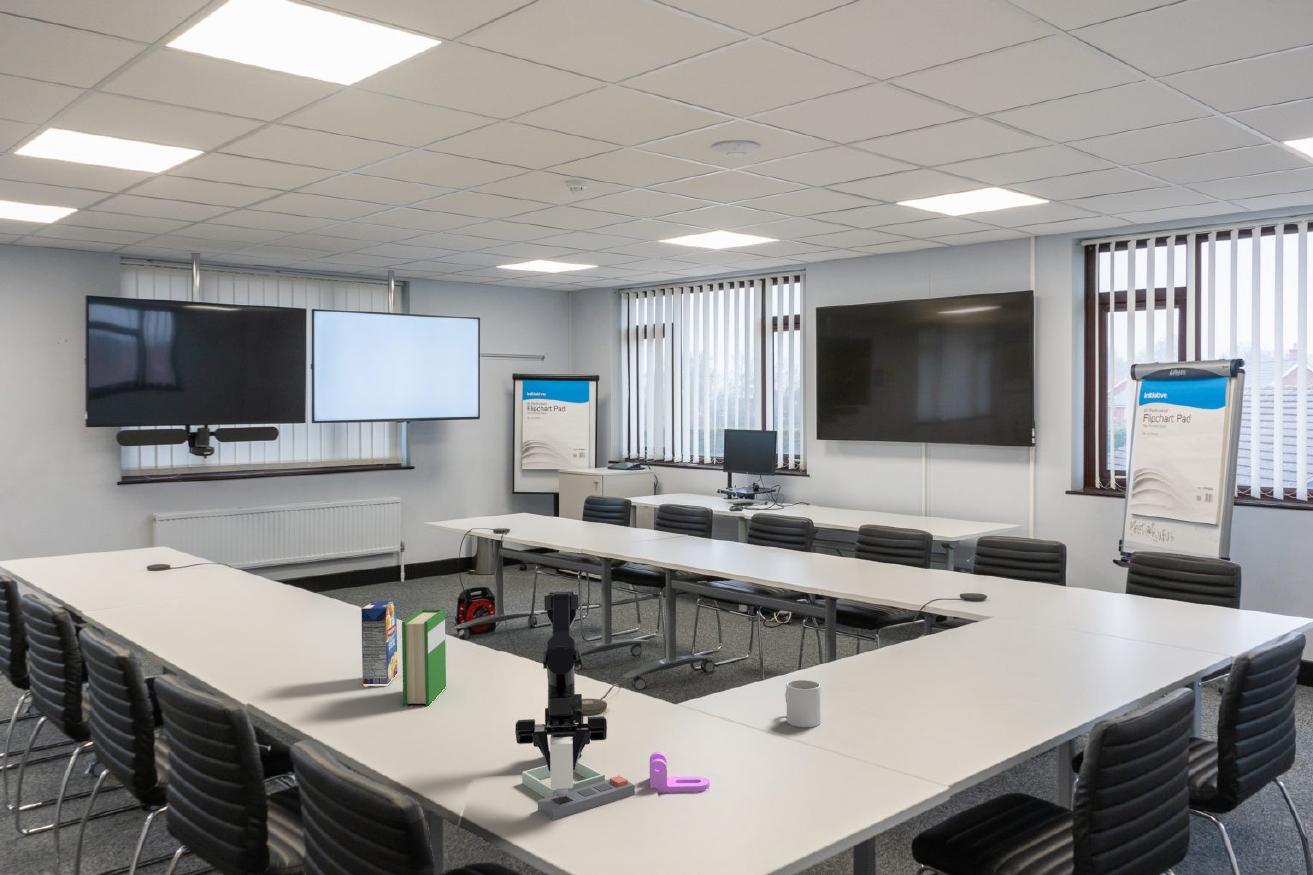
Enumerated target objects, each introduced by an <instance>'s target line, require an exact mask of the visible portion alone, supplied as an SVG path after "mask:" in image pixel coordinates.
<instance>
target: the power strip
mask: <svg viewBox="0 0 1313 875" xmlns="http://www.w3.org/2000/svg"><path fill="white" fill-rule="evenodd" d="M635 790H636V788H635V784H634V783H631V782H630V781H629V780H628V779H626V778H624V777H622V776H621V775H617V776H613V777H610V778H608V779H605V781H602V782H598V783H595V784H592V785H588V786H585V787H581V788H578V789H575V790H571V791H568V795H567V796H565V797H558V796H557V795H554V796H551V797H548V798H545V797H543V798H541V799H538V800H537V811H538V812H540V814H542V815H544V816H545V817H547V818H549V819H550V820H552V821H556V820H558V819H562V818H565V817H568V816H572V815H574V814H578V813H581V812H584V811H587V810H591V809H593V808H597V807H600V806H604V805H607V804H610V803H612V802H616V801H619V800H621V799H625V798H629V797H631V796H634V795H636V794H635V792H636V791H635Z"/></svg>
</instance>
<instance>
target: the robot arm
mask: <svg viewBox="0 0 1313 875" xmlns="http://www.w3.org/2000/svg"><path fill="white" fill-rule="evenodd" d="M543 596H544V598H543V599H544V600H543V601H544V602H543V603H544V604H543V605H544V606H543V607H544V608H543V610H544V612H547V614H546V615H547V619H548V621H549V623H550V625H551V627H552V632H551V633H552V636H551V637H550V638H549V639H548V640H547V641H546V650H544V651H543V656H542V658H543V662H542V665H543V666H542V667H543V669H544V670H546V674H547V675H546V676H547V707H545V708H544V723H539V724H538V723H537V724H536V719H534V718H532V719H530V718H529V719H518V720H517V721H516V722H515V738H516V739H515V740H516V743H517V744H519V745H526V744H529V745H530V744H533V747H536V748H538V749H539V751H540V752H541V755H542V756H543V759H544V761H545V765H547V768H548V770H549V771H550V745H549V738H548V736H550V738H556V737H573V770H575V768H576V765H577V762H578V761H579V760H580V758H581V757H582V756H583V755H582V752H583V750H584V748H585V746H586V745H590V743H591V742H592V741H595V742H596V741H605V740H607V737H608V735H607V734H608V733H607V732H608V721H607V718H606V717H605V716H604V715H603V716H602V715H601V716H600V715H599V716H587V723H584V712H583V711H582V710H583V697H582V696H583V695H582V693H576V690H575V689H576V687H575V685H576V684H575V682H576V681H575V671H576V668H579V667H580V665H582V655H581V654H580V652H579V649H576V640H575V639H574V638H573V637H572V636H571V627H572V625H573V624H574V622H575V620H576V618H577V612H576V611H579V609H580V608H579V607H580V603H579V594H575V593H574V591H550V592H549V595H548V594H547V595H543Z"/></svg>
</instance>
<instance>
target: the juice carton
mask: <svg viewBox="0 0 1313 875" xmlns="http://www.w3.org/2000/svg"><path fill="white" fill-rule="evenodd" d="M360 612H361V613H360V614H361V653H362V654H361V656H362V657H361V658H362V659H361V660H362V661H361V662H362V665H361V666H362V685H363V684H388V683H389V682H390V681H391V679H392V678H394V677H395V675H396V674H397V673H398V632H397V631H398V626H397V625H398V624H397V620H398V618H397V617H398V616H397V600H372V601H370V602H369V603H367V604H366V605H365V606H363V607H361V611H360Z"/></svg>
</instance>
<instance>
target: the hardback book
mask: <svg viewBox="0 0 1313 875" xmlns="http://www.w3.org/2000/svg"><path fill="white" fill-rule="evenodd" d="M401 648H402V649H401V651H402V653H401V654H402V655H401V656H402V665H401V666H402V706H406V707H407V705H408V704H409V705H410V704H417V705H418V704H425V707H426V706H429V705H430V704H431V703H432V701H434V700H435V699H436V697H437V696H438V695H439V694H440V693H441V692H442V690H443V689H445V687H446V688H447V661H446V660H447V656H446V654H447V653H446V652H447V651H446V648H447V647H446V609H441V608H440V609H419V610H418V611H416V612H414V613H413V614H412V615H410V616H409V617H407V618H405V619H404V620H402V621H401ZM445 690H446V689H445ZM442 693H443V692H442ZM436 700H437V699H436ZM436 700H435V701H436ZM435 701H434V702H435ZM432 704H433V703H432ZM432 704H431V705H432ZM409 705H408V706H409ZM431 705H430V706H431ZM430 706H429V707H430Z"/></svg>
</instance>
